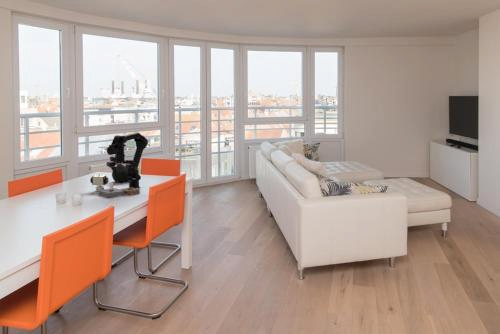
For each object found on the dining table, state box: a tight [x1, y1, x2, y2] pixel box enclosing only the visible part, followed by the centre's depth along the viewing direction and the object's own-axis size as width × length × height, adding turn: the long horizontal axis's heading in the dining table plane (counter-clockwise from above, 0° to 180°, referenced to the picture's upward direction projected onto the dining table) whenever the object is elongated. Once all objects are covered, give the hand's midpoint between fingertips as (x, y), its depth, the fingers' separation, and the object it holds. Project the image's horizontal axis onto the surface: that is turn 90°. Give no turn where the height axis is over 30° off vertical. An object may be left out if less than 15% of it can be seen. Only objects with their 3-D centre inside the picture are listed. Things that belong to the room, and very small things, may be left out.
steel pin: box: [108, 182, 114, 191], centre depth 297 cm, size 2×2×8 cm
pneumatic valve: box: [89, 173, 109, 192], centre depth 310 cm, size 6×12×12 cm, turn 84°
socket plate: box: [97, 187, 126, 199], centre depth 298 cm, size 12×14×3 cm
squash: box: [111, 164, 129, 183], centre depth 344 cm, size 14×15×15 cm
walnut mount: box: [120, 187, 140, 196], centre depth 302 cm, size 9×10×3 cm
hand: (121, 175), depth 307 cm, fingers open, 9 cm apart
